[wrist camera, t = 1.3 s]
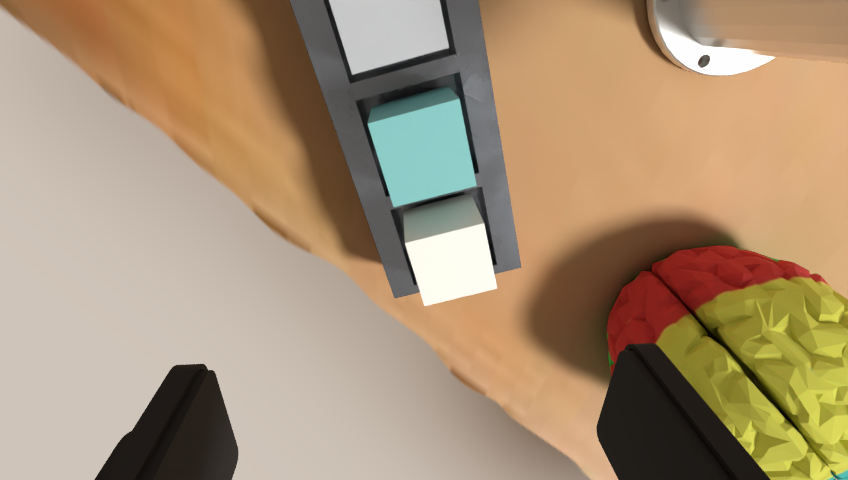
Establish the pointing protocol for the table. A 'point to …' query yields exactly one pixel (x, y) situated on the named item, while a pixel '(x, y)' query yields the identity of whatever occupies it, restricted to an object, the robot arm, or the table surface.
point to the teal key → (422, 146)
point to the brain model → (750, 351)
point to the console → (409, 77)
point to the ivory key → (448, 249)
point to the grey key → (388, 30)
